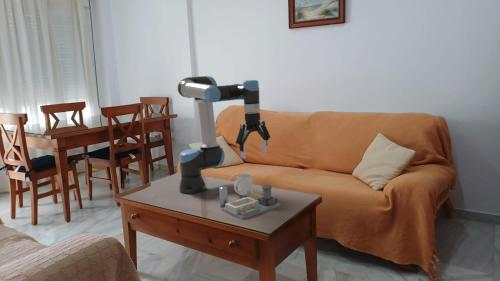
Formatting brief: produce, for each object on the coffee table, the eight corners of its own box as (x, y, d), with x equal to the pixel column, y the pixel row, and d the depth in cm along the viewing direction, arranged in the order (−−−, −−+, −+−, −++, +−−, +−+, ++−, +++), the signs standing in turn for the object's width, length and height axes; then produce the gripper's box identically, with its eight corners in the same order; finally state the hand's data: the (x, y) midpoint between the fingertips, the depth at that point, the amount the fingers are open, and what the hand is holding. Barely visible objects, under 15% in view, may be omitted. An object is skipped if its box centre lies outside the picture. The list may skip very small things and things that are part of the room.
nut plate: (222, 210, 187) (220, 191, 185) (259, 198, 201) (258, 180, 200) (242, 219, 174) (240, 198, 173) (280, 205, 189) (279, 186, 187)
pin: (218, 206, 193) (217, 187, 191) (225, 204, 195) (224, 185, 193) (223, 208, 190) (222, 189, 188) (229, 206, 192) (228, 187, 190)
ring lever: (243, 197, 200) (243, 193, 199) (253, 194, 204) (253, 190, 203) (266, 206, 185) (266, 201, 185) (277, 202, 190) (277, 197, 189)
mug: (240, 198, 202) (238, 180, 201) (229, 195, 208) (228, 177, 206) (255, 193, 211) (255, 175, 209) (245, 190, 216) (244, 172, 215)
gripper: (236, 116, 174) (239, 161, 178) (276, 110, 189) (277, 151, 193) (226, 115, 179) (229, 158, 183) (266, 109, 195) (267, 149, 199)
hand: (254, 155), depth 188 cm, fingers open, 13 cm apart
